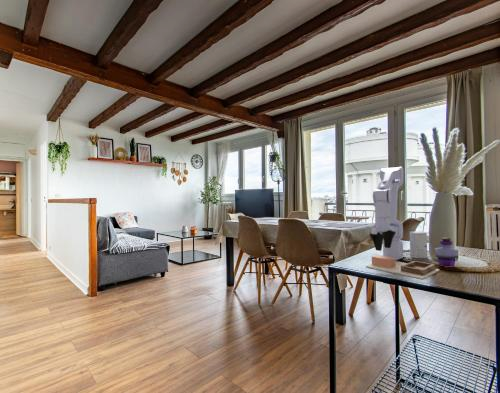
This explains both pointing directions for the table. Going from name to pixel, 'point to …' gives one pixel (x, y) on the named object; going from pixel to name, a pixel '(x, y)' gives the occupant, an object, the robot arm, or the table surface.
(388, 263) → the salmon orange block
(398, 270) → the mat
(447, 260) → the potion bottle
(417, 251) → the skincare box
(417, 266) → the tray
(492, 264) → the table surface
